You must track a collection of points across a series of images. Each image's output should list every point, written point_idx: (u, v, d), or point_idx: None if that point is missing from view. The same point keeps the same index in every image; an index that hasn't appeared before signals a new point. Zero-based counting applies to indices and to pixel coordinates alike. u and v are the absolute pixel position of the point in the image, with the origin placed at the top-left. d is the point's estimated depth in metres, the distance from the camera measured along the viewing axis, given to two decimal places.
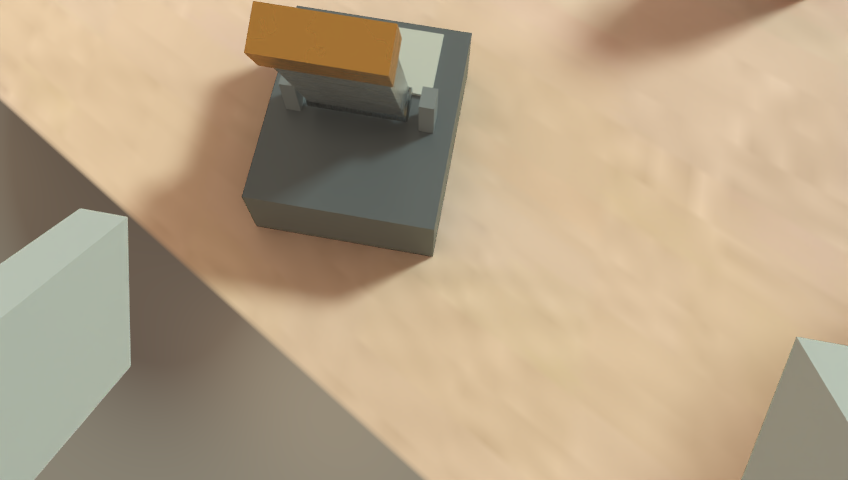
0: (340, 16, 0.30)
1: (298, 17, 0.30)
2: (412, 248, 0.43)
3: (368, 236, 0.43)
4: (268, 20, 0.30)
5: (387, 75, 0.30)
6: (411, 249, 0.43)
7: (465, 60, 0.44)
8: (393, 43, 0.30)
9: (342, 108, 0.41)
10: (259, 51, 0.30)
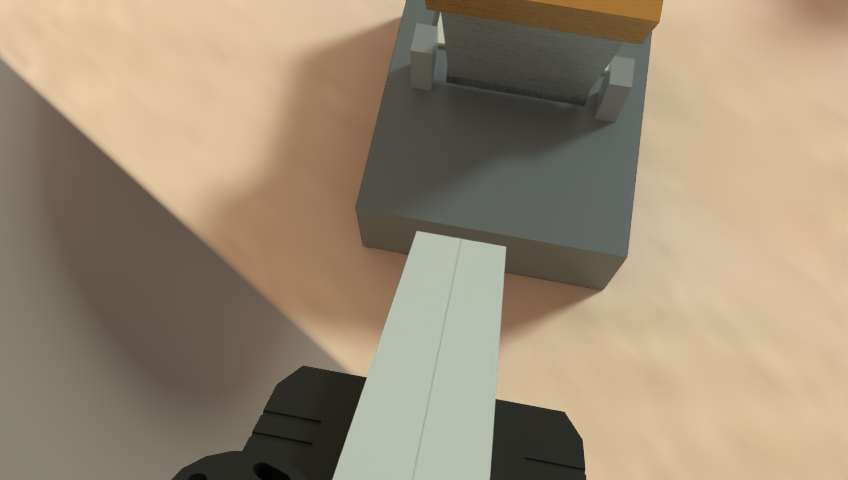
0: None
1: None
2: (578, 280, 0.32)
3: (521, 263, 0.31)
4: None
5: (657, 21, 0.18)
6: (575, 281, 0.32)
7: None
8: None
9: (496, 86, 0.29)
10: None
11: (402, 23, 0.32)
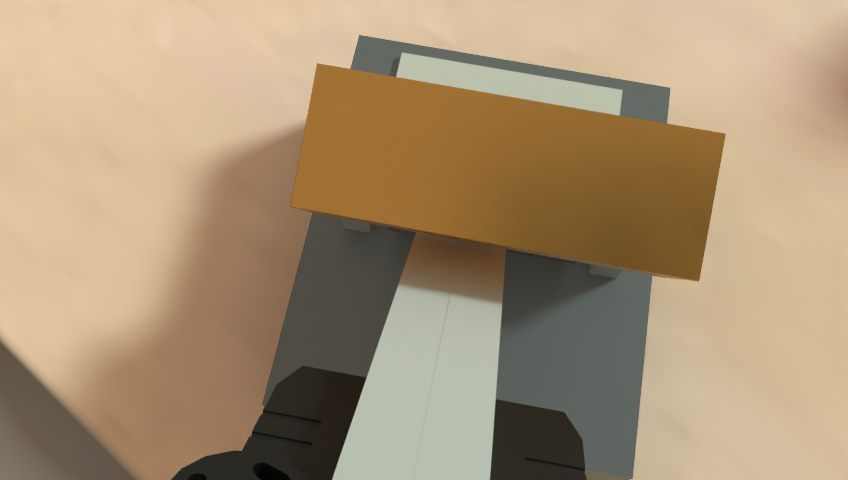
0: (561, 110, 0.11)
1: (443, 111, 0.11)
2: None
3: None
4: (359, 118, 0.11)
5: (695, 279, 0.11)
6: None
7: None
8: (713, 189, 0.11)
9: None
10: (331, 203, 0.11)
11: None
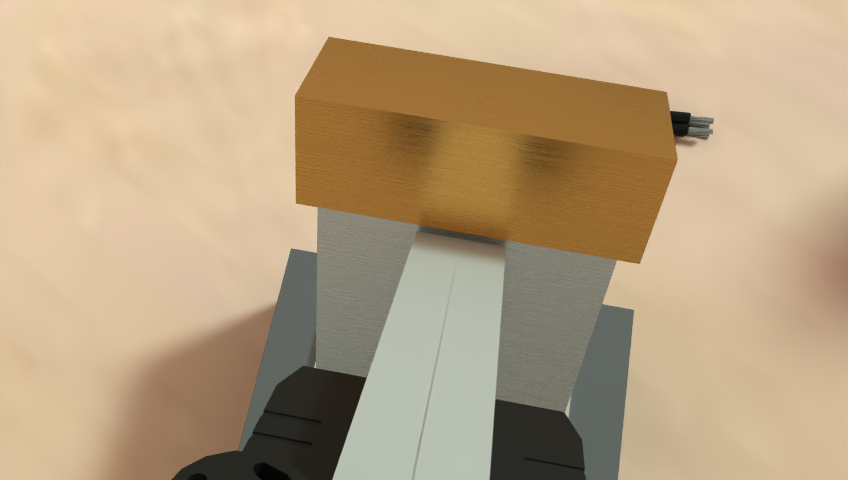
0: (532, 73, 0.13)
1: (434, 65, 0.13)
2: None
3: None
4: (363, 60, 0.13)
5: (674, 160, 0.11)
6: None
7: (625, 372, 0.22)
8: (668, 116, 0.12)
9: None
10: (335, 97, 0.12)
11: (260, 374, 0.22)
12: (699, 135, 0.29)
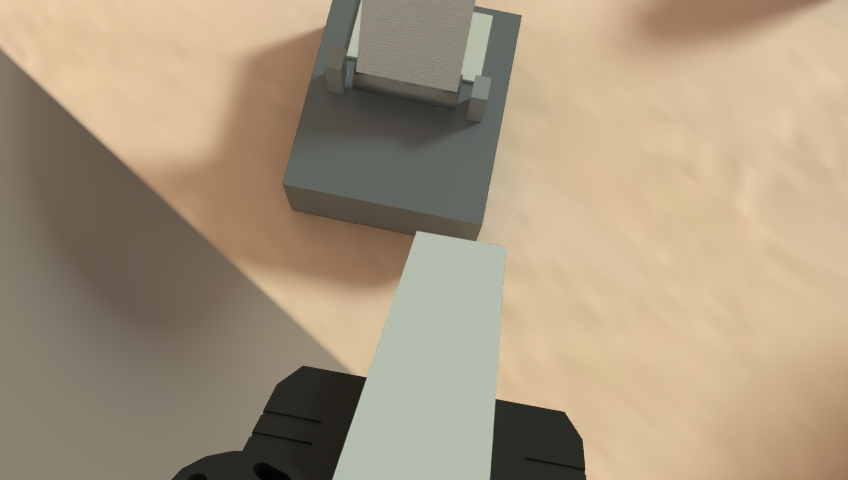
0: None
1: None
2: None
3: (409, 226, 0.41)
4: None
5: None
6: None
7: (515, 44, 0.42)
8: None
9: (391, 81, 0.38)
10: None
11: (323, 39, 0.41)
12: None
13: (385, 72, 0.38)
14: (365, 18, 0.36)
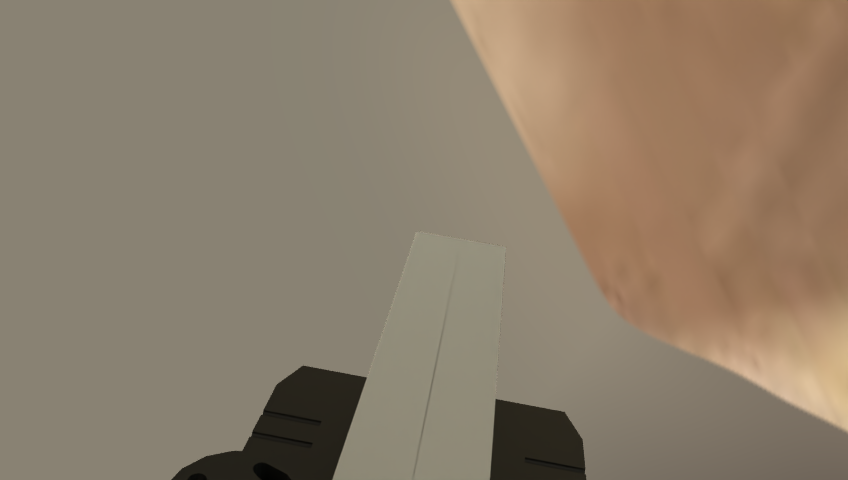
0: None
1: None
2: None
3: None
4: None
5: None
6: None
7: None
8: None
9: None
10: None
11: None
12: None
13: None
14: None
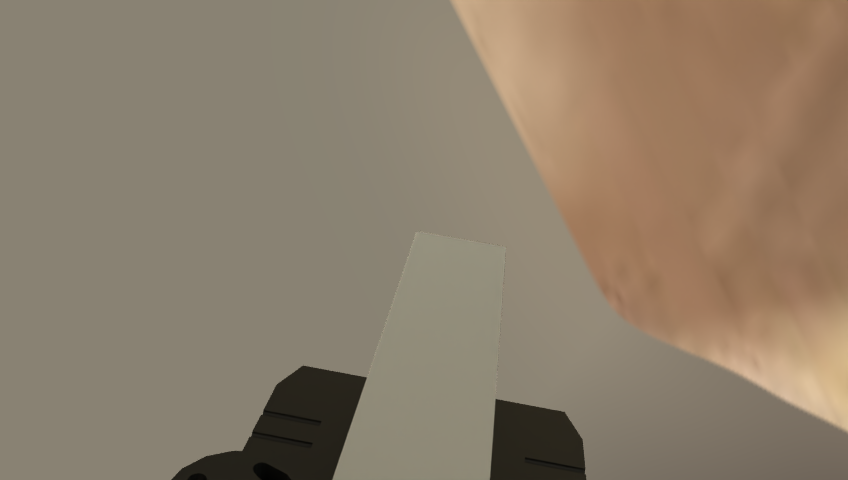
0: None
1: None
2: None
3: None
4: None
5: None
6: None
7: None
8: None
9: None
10: None
11: None
12: None
13: None
14: None
